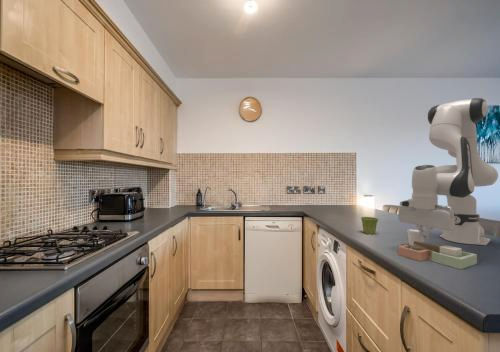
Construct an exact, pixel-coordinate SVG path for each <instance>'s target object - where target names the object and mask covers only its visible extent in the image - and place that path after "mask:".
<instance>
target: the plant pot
mask: <svg viewBox="0 0 500 352" xmlns="http://www.w3.org/2000/svg"><path fill="white" fill-rule="evenodd" d="M360 219H361V223H362V229H363V230H362V231H363V233H364V234H367V235H374V234H376V230H377V224H378V221H379V217H378V218H377V217H372V216H361V217H360Z"/></svg>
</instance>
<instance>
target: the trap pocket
mask: <svg viewBox="0 0 500 352" xmlns="http://www.w3.org/2000/svg"><path fill="white" fill-rule="evenodd" d="M408 245H409V244H407V245H403V246H401V245H400V246H398V250H397V251H398V252H397V253H398V256H400V257H404V258H408V259H411V260H413V261H419V262H422V261H426V260H428V250H421V251H419V250H415V249H414V248H410V249H409V246H408Z"/></svg>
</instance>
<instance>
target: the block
mask: <svg viewBox="0 0 500 352" xmlns="http://www.w3.org/2000/svg"><path fill="white" fill-rule="evenodd" d="M439 247H440V253H441V254H445V255H449V256H453V257H457V258H460V257H462V251H463V249H462V248H461V247H455V246H452V245H446V244H445V245H441V246H439Z"/></svg>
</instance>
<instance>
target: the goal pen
mask: <svg viewBox="0 0 500 352" xmlns="http://www.w3.org/2000/svg"><path fill="white" fill-rule="evenodd" d="M430 261H431V262H434V263H438V264H440V265H444V266H448V267H452V268H454V269H458V270H463V269H466V268H469V267H471V266H475V265H477V264H478V254H477V253H472V252H468V251H464V250H462V257H460V258H457V257H453V256H449V255H445V254H441V253H437V252H432V260H430Z"/></svg>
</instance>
